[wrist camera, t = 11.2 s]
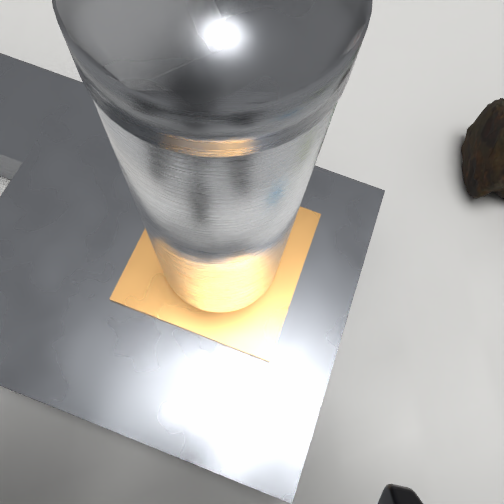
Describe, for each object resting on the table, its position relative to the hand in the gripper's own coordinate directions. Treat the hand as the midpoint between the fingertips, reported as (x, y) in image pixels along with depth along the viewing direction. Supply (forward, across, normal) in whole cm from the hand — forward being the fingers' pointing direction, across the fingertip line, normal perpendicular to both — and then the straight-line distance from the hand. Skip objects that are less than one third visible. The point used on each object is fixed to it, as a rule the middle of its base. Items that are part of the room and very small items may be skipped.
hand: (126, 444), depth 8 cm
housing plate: (+14, +7, +4) cm, 16 cm away
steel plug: (+12, 0, +2) cm, 12 cm away
